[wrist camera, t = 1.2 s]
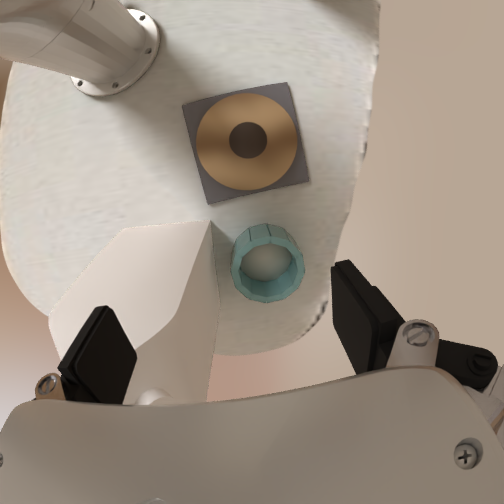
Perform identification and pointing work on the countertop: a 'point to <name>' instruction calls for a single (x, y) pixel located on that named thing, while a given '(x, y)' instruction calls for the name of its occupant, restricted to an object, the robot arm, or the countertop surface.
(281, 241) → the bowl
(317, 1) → the countertop surface
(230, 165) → the lid
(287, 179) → the mat
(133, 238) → the milk
